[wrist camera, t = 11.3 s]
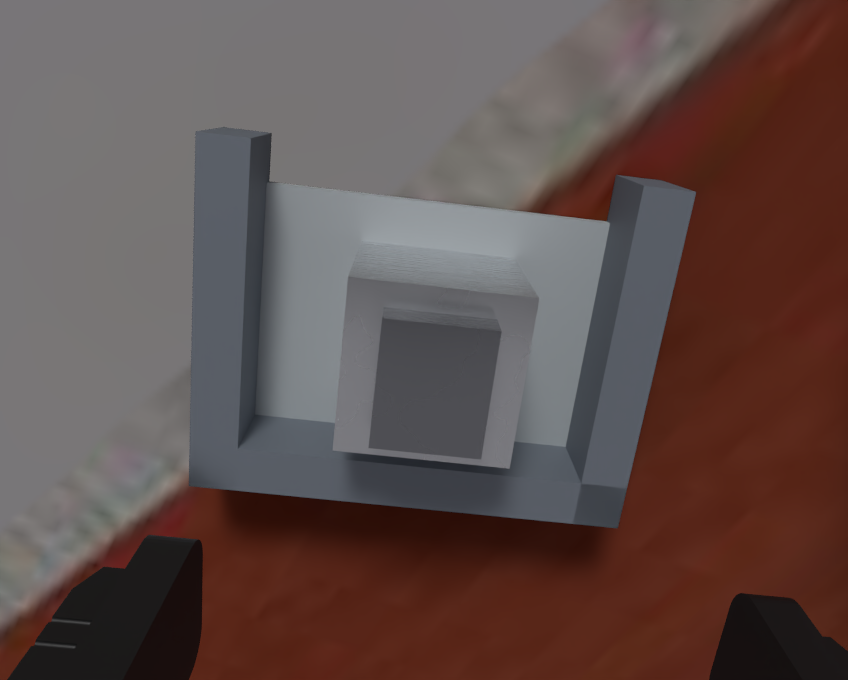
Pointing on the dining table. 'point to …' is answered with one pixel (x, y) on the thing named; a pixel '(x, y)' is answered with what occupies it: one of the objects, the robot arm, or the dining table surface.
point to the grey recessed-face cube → (433, 355)
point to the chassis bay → (324, 320)
